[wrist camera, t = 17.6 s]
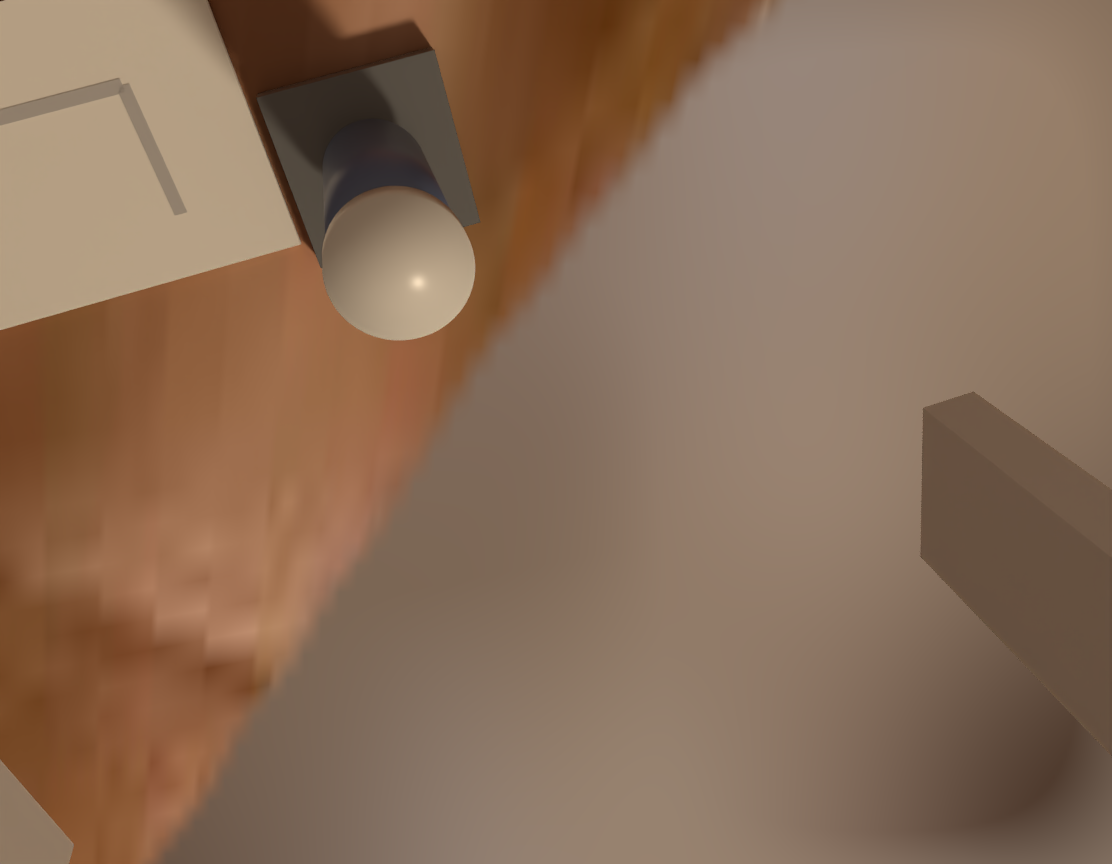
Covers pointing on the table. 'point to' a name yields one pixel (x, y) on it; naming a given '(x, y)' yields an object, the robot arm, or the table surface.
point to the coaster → (356, 94)
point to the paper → (123, 154)
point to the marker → (390, 235)
